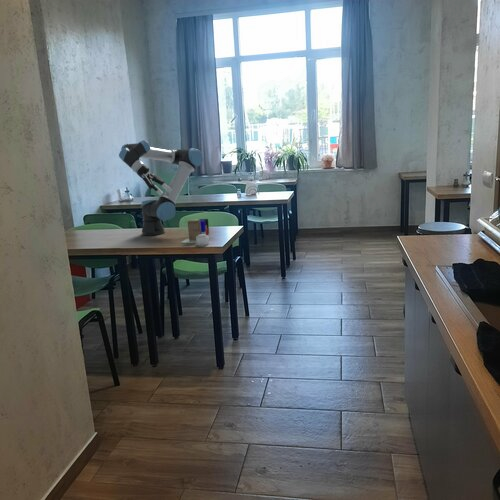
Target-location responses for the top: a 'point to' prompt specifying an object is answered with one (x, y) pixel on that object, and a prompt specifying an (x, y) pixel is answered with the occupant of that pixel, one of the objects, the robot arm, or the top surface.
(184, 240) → the pad
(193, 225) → the walnut block
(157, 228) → the robot arm
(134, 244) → the top surface
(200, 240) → the sugar bowl
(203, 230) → the puzzle toy
